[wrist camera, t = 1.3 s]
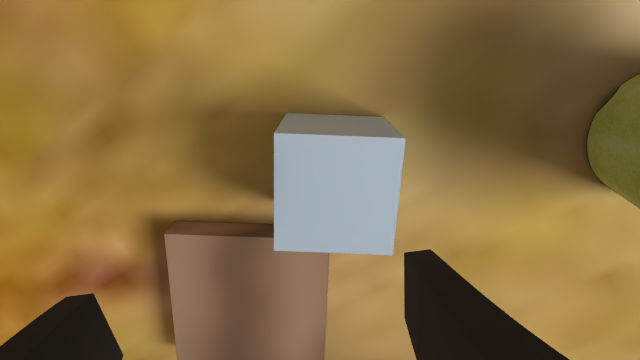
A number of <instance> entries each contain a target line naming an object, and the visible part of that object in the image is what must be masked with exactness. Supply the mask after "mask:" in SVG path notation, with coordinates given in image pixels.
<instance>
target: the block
mask: <svg viewBox="0 0 640 360" xmlns="http://www.w3.org/2000/svg"><path fill="white" fill-rule="evenodd" d="M405 141H406V138H405V137H404V136H403V135H402V134H401V133H400V132H399V131H398V130H397V129H396V128H395V127H394V126H393V125H392V124H391V123H390V122H389V121H388V120H386V119H385V118H384V117H376V116H351V115H326V114H301V113H286V115H285V116H284V118H283V120H282V121H281V123H280V124H279V126H278V128H277V129H276V131H275V132H274V251H296V252H323V253H349V254H376V255H393V248H394V239H395V230H396V221H397V212H398V203H399V194H400V185H401V176H402V167H403V158H404V149H405Z"/></svg>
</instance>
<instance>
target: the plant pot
mask: <svg viewBox="0 0 640 360" xmlns="http://www.w3.org/2000/svg"><path fill="white" fill-rule="evenodd" d="M587 153H588V159H589V162H590V165H591V167H592V169H593V172H594V173H595V174H596V176H597V177H598V178H599V179H600V180H601V181H602V182H603V183H604V184H605V185H607V186H608V187H609V188H611V189H612V190H613V191H615V192H616V193H618V194H619V195H621V196H622V197H623V198H625V199H626V200H628V201H629V202H631V203H632V204H634V205H635V206H637V207H638V208H640V74H639V75H637V76H635V77H633V78H631V79H629V80H628V81H626V82H625V83H624V84H622V85H621V86H620V87H619V89H618V90H617V92H616V93H615V94H614V96H613V97H612V98H611V99H610V100H609V101H608V102H607V103H606V104H605V106H604V107H603V108H602V109H601V110H600V111H598V112H597V114H596V115H595V117H594V119H593V121H592V124H591V127H590V130H589V134H588V139H587Z"/></svg>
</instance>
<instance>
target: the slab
mask: <svg viewBox="0 0 640 360" xmlns="http://www.w3.org/2000/svg"><path fill="white" fill-rule="evenodd" d="M164 237H165V246H166V256H167V266H168V276H169V285H170V295H171V305H172V315H173V324H174V334H175V344H176V353H177V360H324V352H325V332H326V312H327V292H328V272H329V253H323V252H296V251H274V224H250V223H222V222H194V221H175V223H174V224H173V225H172V226H171V227H170V228H169V229H168V230H167V231H166V233H165V234H164Z"/></svg>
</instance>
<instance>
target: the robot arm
mask: <svg viewBox="0 0 640 360" xmlns="http://www.w3.org/2000/svg"><path fill="white" fill-rule="evenodd" d="M404 286H405V321H406V324H407V328H408V331H409V335H410V338H411V342H412V345H413V349H414V352H415V355H416V359H417V360H569V359H568V358H566V357H565V356H563V355H562V354H560V353H559V352H557V351H556V350H555V349H553V348H552V347H550V346H549V345H548V344H546V343H545V342H544V341H542V340H541V339H539V338H538V337H537V336H535V335H534V334H533V333H531V332H530V331H528V330H527V329H526V328H524V327H523V326H522V325H521V324H519V323H518V322H517V321H515V320H514V319H513V318H511V317H510V316H509V315H508V314H506V313H505V312H504V311H503V310H501V309H500V308H499V307H498V306H496V305H495V304H494V303H493V302H491V301H490V300H489V299H488V298H486V297H485V296H484V295H483V294H482V293H480V292H479V291H478V290H477V289H476V288H474V287H473V286H472V285H471V284H470V283H469V282H467V281H466V280H465V279H464V278H463V277H462V276H460V275H459V274H458V273H457V272H456V271H455V270H454V269H452V268H451V267H450V266H449V265H448V264H447V263H446V262H444V261H443V260H442V259H441V258H440V257H439V256H437V255H436V254H435V253H434V252H433V251H431V250H422V251H415V252H407V253H404ZM122 358H123V354H122V352H121V349H120V347H119V345H118V343H117V341H116V339H115V337H114V335H113V333H112V331H111V329H110V327H109V325H108V323H107V321H106V318H105V316H104V314H103V312H102V310H101V308H100V306H99V304H98V302H97V300H96V298H95V296H94V294H85V295H77V296H69V297H66V298H64V299H63V300H61V301H60V302H58V303H57V304H55V305H54V306H53V307H51V308H50V309H48V310H47V311H46V312H44V313H43V314H42V315H40V316H39V317H38V318H36V319H35V320H34V321H32V322H31V323H30V324H28V325H27V326H26V327H25V328H23V329H22V330H21V331H19V332H18V333H17V334H16V335H14V336H13V337H12V338H10V339H9V340H8V341H6V342H5V343H4V344H3V345H1V346H0V360H122Z"/></svg>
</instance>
